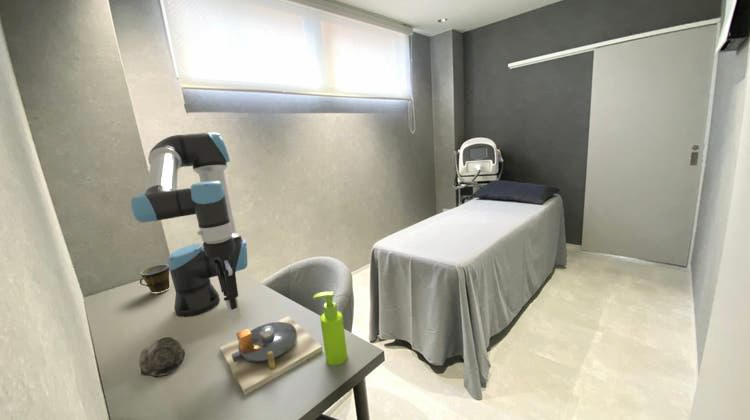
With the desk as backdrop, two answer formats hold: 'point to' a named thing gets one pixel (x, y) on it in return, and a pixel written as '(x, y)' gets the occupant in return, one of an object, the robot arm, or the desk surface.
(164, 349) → the fossil
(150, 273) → the ceramic cup
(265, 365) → the post base
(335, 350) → the soap dispenser
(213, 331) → the desk surface
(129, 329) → the desk surface
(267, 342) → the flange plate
